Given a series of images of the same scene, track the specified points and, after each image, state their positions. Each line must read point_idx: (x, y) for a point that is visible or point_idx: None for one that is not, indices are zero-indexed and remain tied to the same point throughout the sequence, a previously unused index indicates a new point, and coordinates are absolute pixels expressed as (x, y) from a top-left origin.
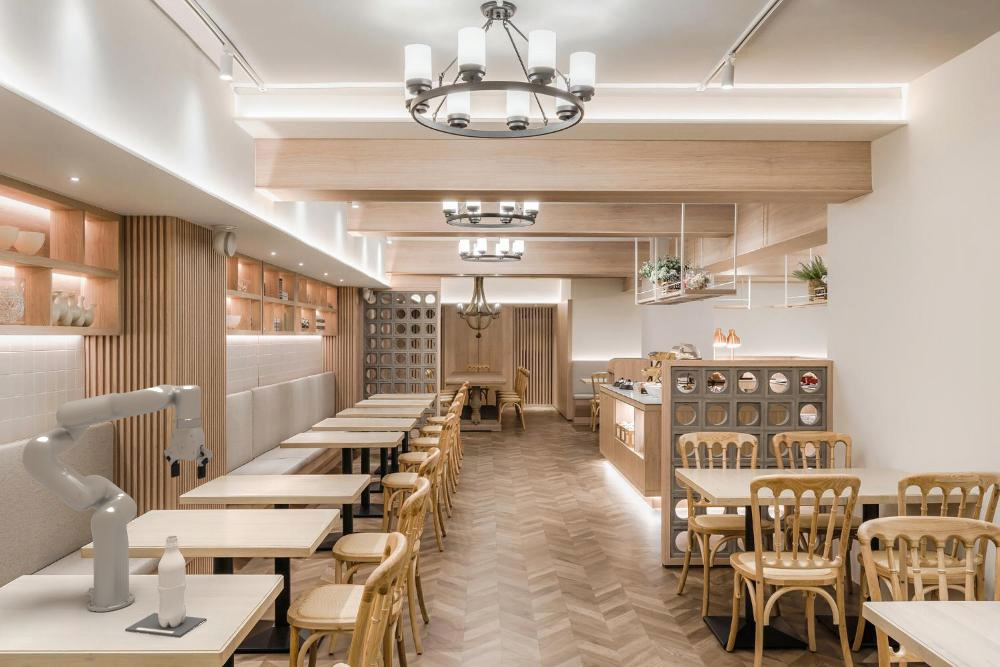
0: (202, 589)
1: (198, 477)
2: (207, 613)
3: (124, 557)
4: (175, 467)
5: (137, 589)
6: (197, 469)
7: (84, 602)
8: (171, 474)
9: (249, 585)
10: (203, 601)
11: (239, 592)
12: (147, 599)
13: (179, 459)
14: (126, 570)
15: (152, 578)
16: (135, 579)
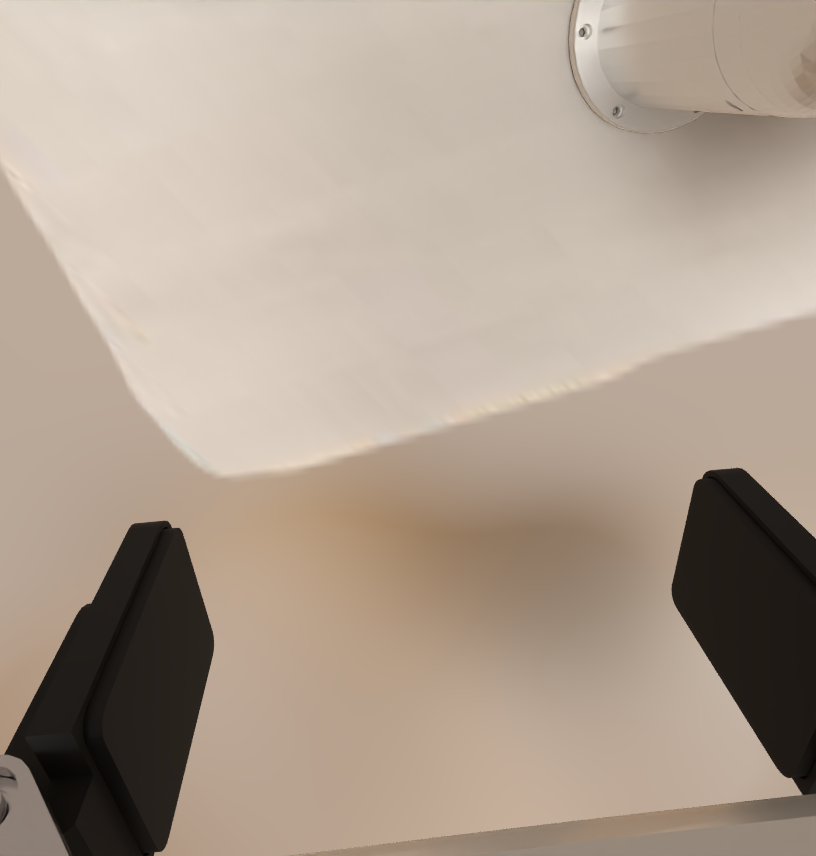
0: (382, 292)
1: (135, 534)
2: (147, 70)
3: (704, 10)
4: (788, 652)
5: (652, 210)
6: (102, 662)
7: None
8: (757, 493)
9: (231, 381)
10: (277, 185)
11: (210, 312)
12: (534, 128)
13: (684, 829)
14: (659, 38)
15: (665, 325)
16: (728, 296)
